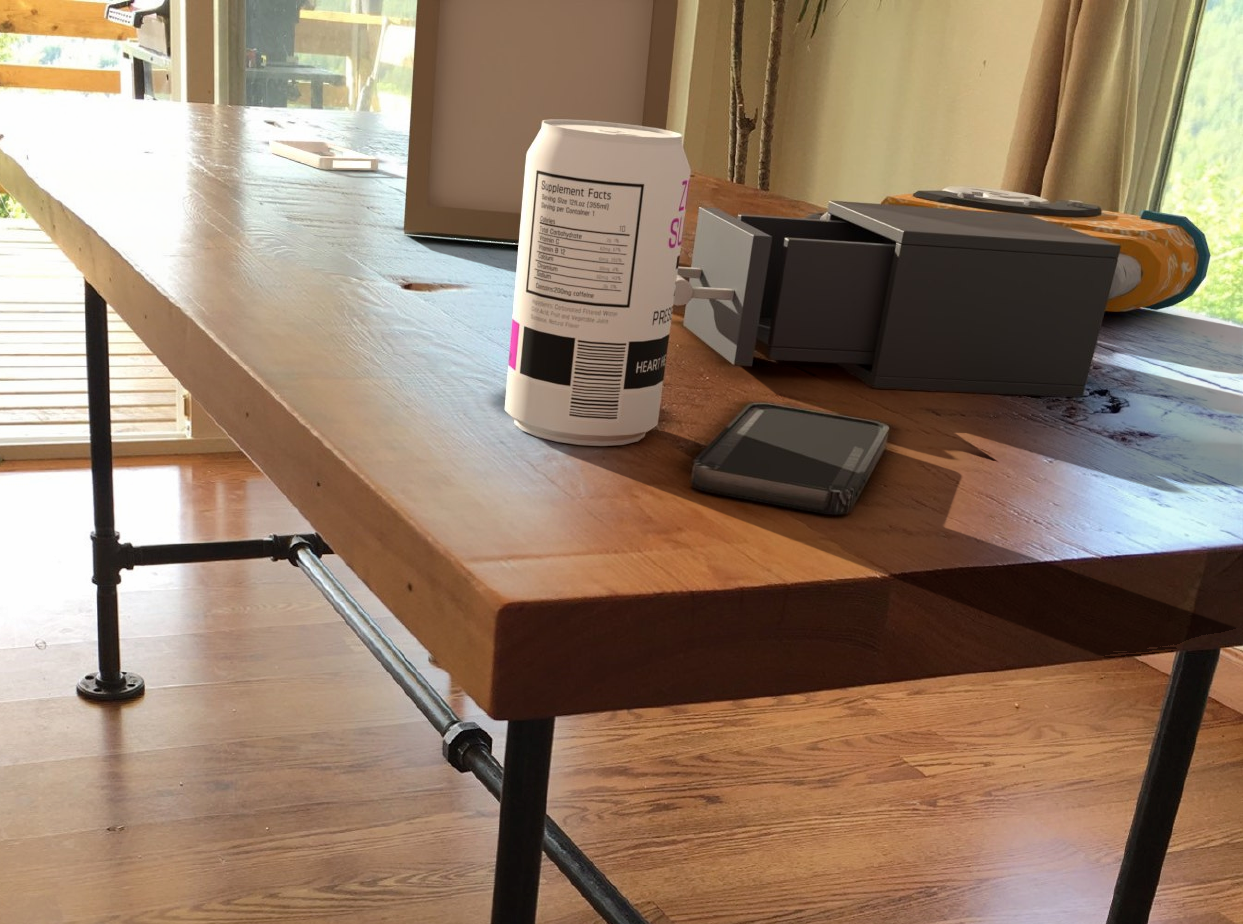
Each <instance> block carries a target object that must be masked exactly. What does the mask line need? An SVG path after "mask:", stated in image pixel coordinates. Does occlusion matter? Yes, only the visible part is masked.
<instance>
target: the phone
mask: <svg viewBox="0 0 1243 924" xmlns="http://www.w3.org/2000/svg"><path fill="white" fill-rule="evenodd" d="M889 431H890V426H889V425H887V424H885V423H883V422H880V421H877V420H872V419H866V418H861V417H854V416H848V415H842V414H836V413H830V412H824V411H819V410H813V409H807V408H802V407H795V406H789V405H783V404H776V403H772V402H771V403H770V402H750V403H749V404H747V405H746V406H745V407H744V408H743V409H742V410H741V411H740V412H739V413H738V414H737V415H736V416H735V417H734V418H733V419H732V420H731V421H730V422H729V424H727V426H726V427H724V429H723V430H722V431H721V432H720V433H719V434H718V435H716V437H714V439H713V440H712V441H711V442H710V443H709V444H708V445H707V446H706V447H705V448H704V449H703V450H702V451H701V452H700V453H699V454H698V455H697V456H696V457H695V458H694V459H693V462H692V467H691V468H692V470H691V477H690V482H689V484H690V486H691V487H692V488H694V489H696V490H699V491H701V492H706V493H711V494H716V495H722V496H728V497H732V498H737V499H743V500H748V501H754V502H759V503H765V504H769V505H770V504H771V505H776V506H781V507H786V508H792V509H796V510H803V511H808V512H813V513H818V514H824V515H833V516H835V515H836V516H839V515H846V514H849V513H851V512H852V510H853V508H854V506H855V504H856V502H857V501H858V499H859V497H860V495H861V493H862V491H863V490H864V488H865V486H866V484H867V482H868V480H869V478H870V477H871V475H872V473H873V471H874V469H875V468H876V466H877V464H878V463H879V460H880V459H881V457H882V455H883V453H884V451H885V449H886V446H887V441H888V436H889Z"/></svg>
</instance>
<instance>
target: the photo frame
mask: <svg viewBox="0 0 1243 924" xmlns="http://www.w3.org/2000/svg"><path fill="white" fill-rule="evenodd" d="M678 8H679V0H416V9H415V10H416V13H415V14H416V15H415V29H414V30H415V31H414V46H413V47H414V48H413V63H412V64H413V65H412V82H411V84H412V85H411V98H410V113H409V114H410V115H409V131H408V133H409V134H408V150H407V164H406V183H405V199H404V200H405V201H404V218H403V219H404V220H403V234H404V235H410V236H420V237H421V236H422V237H433V238H443V239H444V238H445V239H455V238H456V239H457V240H466V239H468V241H478V240H479V242H490V241H491V243H492V242H493V243H502V242H503V244H513V243H515V245H519V236H520V224H521V212H522V201H523V189H524V177H525V166H526V154H527V152H528V150H529V148H530V147H531V145H532V143H533V142H534V140H535V138H536V137H537V135H538V133H539V131H540V130H541V128H542V121H543V120H551V119H554V120H586V121H599V122H611V123H620V124H629V125H637V126H644V127H651V128H658V129H663V130H667V123H668V122H667V121H668V112H669V101H670V91H671V82H672V70H673V60H674V48H675V37H676V30H677V29H676V28H677V26H676V25H677V18H678ZM456 239H455V240H456Z"/></svg>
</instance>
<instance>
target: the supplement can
mask: <svg viewBox="0 0 1243 924" xmlns="http://www.w3.org/2000/svg"><path fill="white" fill-rule="evenodd" d="M691 174H692V170H691V166H690V164H689V161H688V157H687V155H686V152H685V149H684V146H683V134H682V133H679V132H676V131H673V130H669V129H668V130H667V129H666V130H663V129H658V128H651V127H644V126H637V125H629V124H620V123H611V122H599V121H586V120H554V119H551V120H543V121H542V128H541V130H540V131H539V133H538V135H537V137H536V138H535V140H534V142H533V143H532V145H531V147H530V148H529V150H528V152H527V154H526V166H525V177H524V189H523V201H522V212H521V224H520V236H519V244H518V247H517V248H518V249H517V258H516V259H517V260H516V272H515V283H514V295H513V296H514V297H513V307H512V317H511V318H512V319H511V329H510V330H511V331H510V342H509V355H508V365H507V376H506V388H505V389H506V390H505V402H504V411H505V412H506V413H507V414H508V415H509V416H510V417H512V418H513V420H514V421H513V422H514V425H515V426H516V427H517V428H519V429H520V430H521V431H522V432H525V433H527V434H529V435H532V436H534V437H537V438H541V439H545V440H548V441H553V442H556V443H563V444H570V445H576V446H591V447H593V446H594V447H609V446H610V447H611V446H624V445H628V444H633V443H637V442H639V441H640V440H642V439H644V437H646V433H648V432H649V431H651V430H652V429H654V428H655V427H657V426H658V424H659V418H660V417H659V416H660V410H661V402H662V396H663V395H662V394H663V393H662V392H663V386H664V380H665V379H664V378H665V371H666V364H667V356H668V348H669V341H670V333H671V325H672V319H673V318H672V317H673V309H674V304H673V303H674V296H675V288H676V280H677V273H678V267H679V264H680V259H681V258H680V257H681V249H682V243H683V242H682V241H683V235H684V234H683V233H684V226H685V219H686V211H687V205H688V204H687V203H688V196H689V188H690V180H691Z"/></svg>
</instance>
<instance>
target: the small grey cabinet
mask: <svg viewBox="0 0 1243 924" xmlns="http://www.w3.org/2000/svg"><path fill="white" fill-rule="evenodd" d="M826 212H828V213H827V216H826V220H835V221H848V222H851V223H853V224H855V225H858V226H860V227H863V228H865V229H867V230H870V231H872V232H874V233H877V234H879V235H881V236H884V237H886V238H888V239H891V240H893V241H895V242H898V243H896V247H895V252H894V258H893V263H892V268H891V273H890V278H889V283H888V289H887V294H886V299H885V304H884V309H883V315H882V320H881V325H880V330H879V335H878V341H877V346H876V351H875V356H874V361H873V365H866V364H845V363H835V364H836V365H837V366H839V367H840V368H842V369H844V370H845V371H846V372H848V373H849V374H851V375H852V376H854V377H855V378H857V379H858V380H860V381H862V383H865V384H866V385H868V386H869V387H871V388H872V389H874V388H880V389H879V390H894V389H902V390H901V391H920V392H939V393H940V392H941V393H965V394H985V395H988V394H989V395H1009V396H1010V395H1011V396H1032V397H1033V396H1034V397H1052V398H1054V397H1055V398H1074V399H1075V398H1077V399H1082V398H1083V397H1084V394H1085V389H1086V385H1087V382H1088V378H1089V374H1090V371H1091V366H1092V363H1093V359H1094V355H1095V351H1096V347H1097V344H1098V341H1099V335H1100V332H1101V327H1102V323H1103V321H1104V316H1105V312H1106V311H1105V309H1106V305H1107V301H1108V297H1109V293H1110V289H1111V285H1112V281H1113V277H1114V274H1115V270H1116V266H1117V262H1118V259H1117V258H1118V257H1119V253H1120V249H1121V245H1118V244H1115V243H1112V242H1109V241H1106V240H1103V239H1100V238H1097V237H1094V236H1091V235H1087V234H1084V233H1081V232H1078V231H1075V230H1072V229H1069V228H1066V227H1063V226H1060V225H1057V224H1054V223H1051V222H1048V221H1045V220H1042V219H1038V218H1035V217H1032V216H1029V215H1026V214H1015V213H1001V212H987V211H972V210H958V209H944V208H930V207H915V206H901V205H887V204H881V203H870V202H858V201H844V200H828V205H827V210H826Z"/></svg>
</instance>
